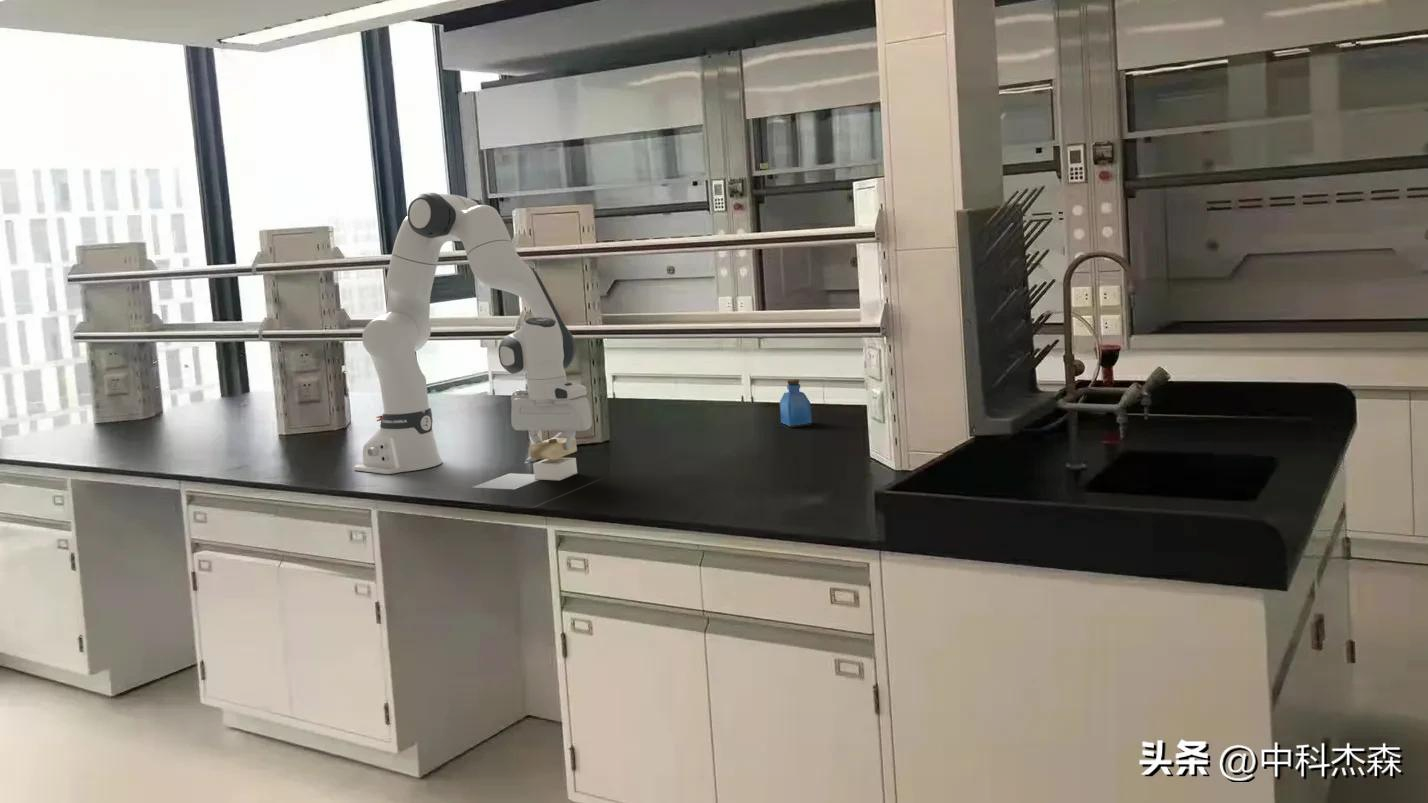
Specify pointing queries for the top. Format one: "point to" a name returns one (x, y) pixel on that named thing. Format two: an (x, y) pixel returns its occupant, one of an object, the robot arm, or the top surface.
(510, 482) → the mat
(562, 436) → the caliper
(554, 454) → the lid
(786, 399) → the perfume bottle
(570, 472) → the dish
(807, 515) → the top surface
